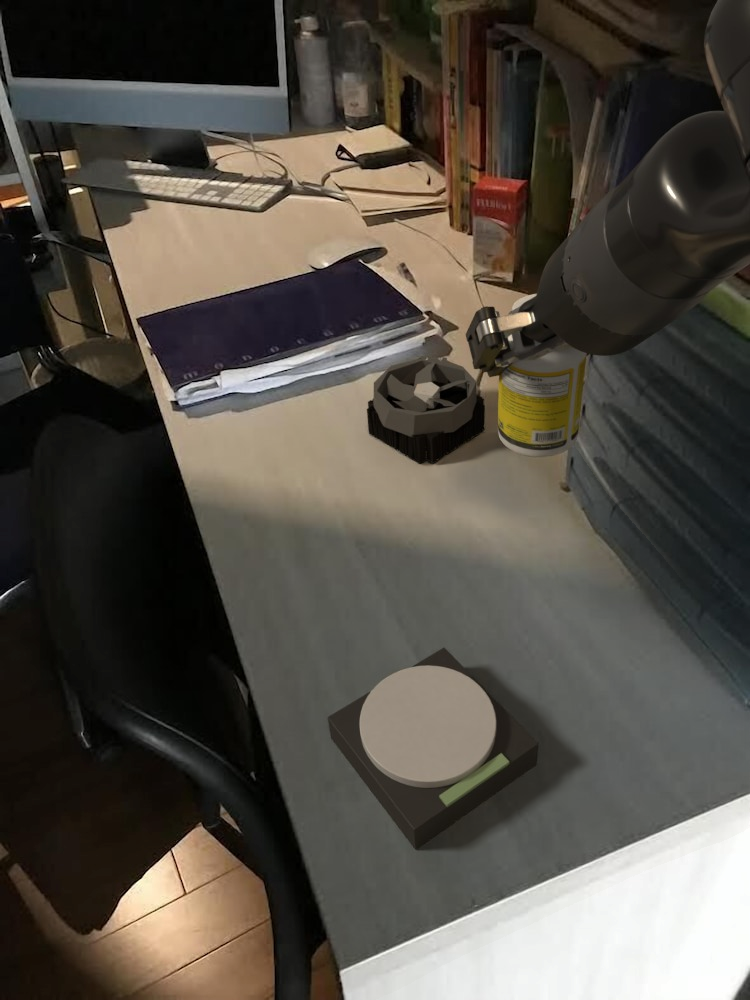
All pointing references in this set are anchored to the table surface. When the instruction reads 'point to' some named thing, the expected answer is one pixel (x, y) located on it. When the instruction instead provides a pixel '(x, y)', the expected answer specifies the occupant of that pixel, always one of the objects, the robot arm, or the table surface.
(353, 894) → the table surface
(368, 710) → the scale
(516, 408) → the pill bottle
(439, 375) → the cpu cooler
